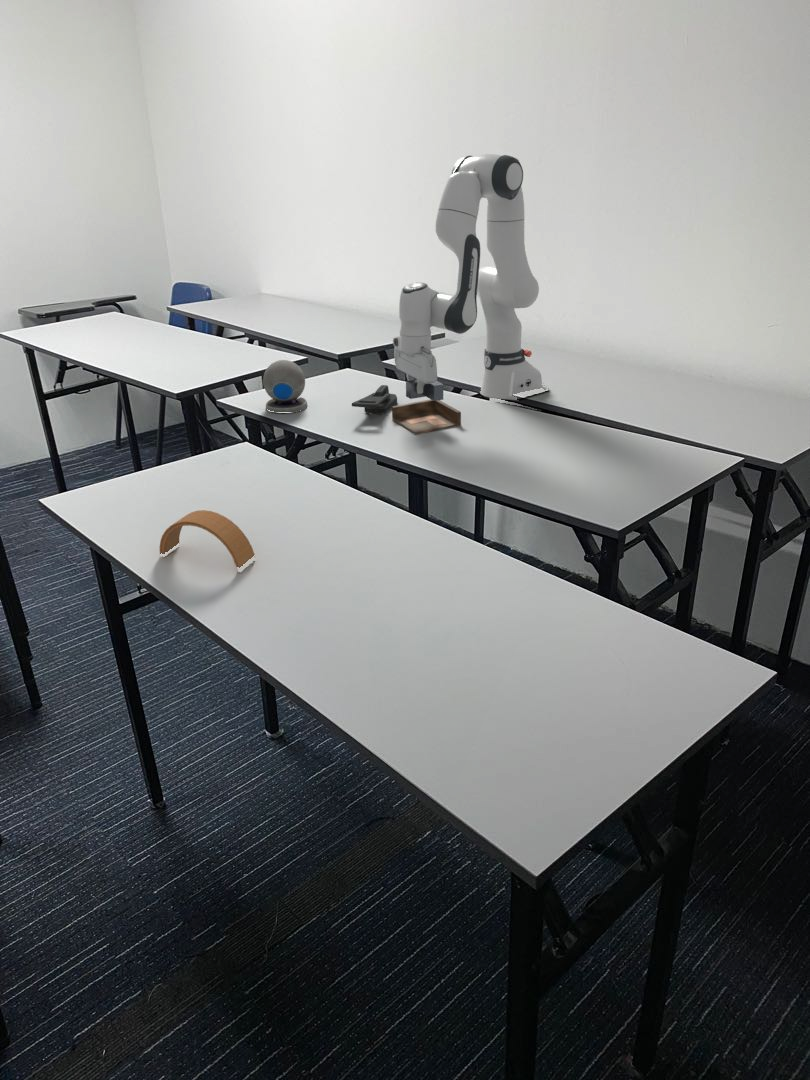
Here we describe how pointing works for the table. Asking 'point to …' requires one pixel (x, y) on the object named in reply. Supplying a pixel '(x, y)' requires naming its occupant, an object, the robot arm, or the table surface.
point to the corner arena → (426, 416)
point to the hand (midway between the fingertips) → (415, 391)
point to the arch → (217, 527)
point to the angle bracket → (425, 390)
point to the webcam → (284, 387)
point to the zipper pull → (377, 401)
